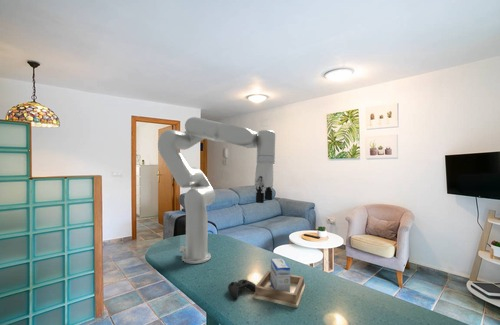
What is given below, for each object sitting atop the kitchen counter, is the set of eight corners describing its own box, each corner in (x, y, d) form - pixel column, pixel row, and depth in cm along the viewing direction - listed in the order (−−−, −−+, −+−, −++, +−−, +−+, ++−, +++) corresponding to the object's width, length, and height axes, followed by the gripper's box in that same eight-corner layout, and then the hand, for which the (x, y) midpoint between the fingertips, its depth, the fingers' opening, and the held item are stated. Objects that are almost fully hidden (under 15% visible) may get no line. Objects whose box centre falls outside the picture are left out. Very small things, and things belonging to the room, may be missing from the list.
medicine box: (270, 283, 84) (270, 258, 84) (282, 282, 85) (282, 257, 85) (277, 296, 76) (277, 268, 76) (290, 294, 77) (290, 267, 77)
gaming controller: (235, 299, 74) (227, 280, 78) (228, 306, 77) (221, 287, 80) (259, 290, 80) (252, 272, 83) (252, 296, 83) (245, 279, 86)
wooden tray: (253, 297, 76) (253, 287, 76) (267, 278, 89) (267, 269, 89) (297, 308, 71) (297, 296, 71) (305, 286, 84) (305, 276, 84)
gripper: (264, 160, 111) (263, 198, 110) (248, 159, 95) (247, 203, 95) (280, 161, 107) (279, 199, 107) (266, 159, 92) (265, 205, 92)
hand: (264, 201), depth 101 cm, fingers open, 9 cm apart
